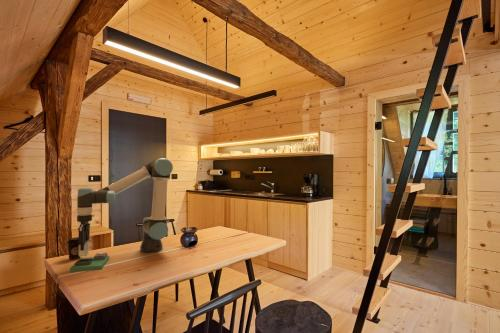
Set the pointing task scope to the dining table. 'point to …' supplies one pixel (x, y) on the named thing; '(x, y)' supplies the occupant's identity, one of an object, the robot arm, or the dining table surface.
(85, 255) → the plug
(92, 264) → the board
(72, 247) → the coffee cup
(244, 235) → the dining table surface
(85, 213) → the robot arm
